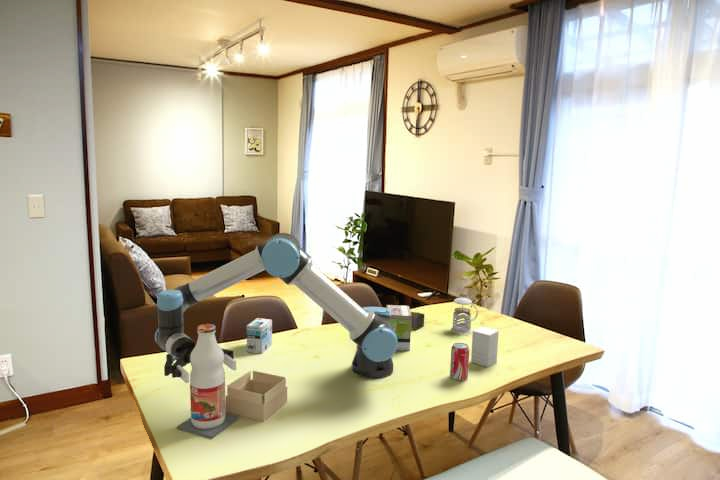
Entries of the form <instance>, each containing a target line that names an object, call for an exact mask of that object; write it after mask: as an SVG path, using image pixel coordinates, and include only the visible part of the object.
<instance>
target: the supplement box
mask: <svg viewBox="0 0 720 480" xmlns="http://www.w3.org/2000/svg"><path fill="white" fill-rule="evenodd" d="M471 339H472V340H471V352H470V353H471V357H470V362H471V363H473V364H476V365H480V366H483V367H487V368H489V367H491V366H492V365H494V364H496V363H497V361H498V359H497V358H498V346H499V330H496V329H493V328H490V327H489V328H488V327H485V326H480V327H478V328H476V329H474V330H472V337H471Z"/></svg>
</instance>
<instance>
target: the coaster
mask: <svg viewBox="0 0 720 480" xmlns="http://www.w3.org/2000/svg"><path fill="white" fill-rule="evenodd" d="M239 416H240V415H236V414H232V413H228V412H226V416H225V421H224V422H223V423H222V424H221V425H219V426H217V427H214V428H210V429H199V428H196V427H194V426H193V425H192V422H191V417H189V418H188V419H186V420H185V421H183V422H182V423H180V424H179V425H177V426H176V429H177V430H179V431H183V432H187V433H190V434H194V435H198V436H200V437H205V438H208V439H214V438H215V437H217V436H218V434H220V433H221V432H223V431H224V430H226V429H227V428H228V427H229V426H230V425H232V424H233V423H234V422H236V421H237V420H238V419H239V418H240V417H239Z"/></svg>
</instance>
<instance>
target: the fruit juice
mask: <svg viewBox="0 0 720 480" xmlns="http://www.w3.org/2000/svg"><path fill="white" fill-rule="evenodd" d="M216 327H217V326H216V325H215V324H213V323H204V324H200V325H198V326H197V327H196V331H197V335H198V336H197V340H196V346H195V348H194V349H193V351H192V352H191V354H190V363H189V364H190V366H191V370H190V373H189V393H190V394H189V395H190V399H189V401H190V418H191V422H192V425H193V426H194V427H196V428H199V429H210V428H214V427H217V426H219V425H221V424H222V423H223V422H224V421H225V416H226V413H227V412H226V372H225V369H224V367H223V365H224V362H223V361H224V352H223V350H222V349H223V348H222V347H221V346H220V345H219V343H218V341H217V338H216V334H215V333H216V331H217V328H216ZM221 348H222V349H221Z"/></svg>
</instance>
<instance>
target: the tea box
mask: <svg viewBox="0 0 720 480" xmlns="http://www.w3.org/2000/svg"><path fill="white" fill-rule="evenodd" d="M385 308H387V309H389V310H390V312H391V318H390V324H391V326H392V328H393V330H394V332H395V334H396V336H397V341H398V346H397V350H396V351H410V349H411V336H412V334H411V333H412V329H411V321H412V315H411V312H412V311H411V309H410V308H411V307H410V306H409V305H398V304H395V305H394V304H386V307H385Z"/></svg>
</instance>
